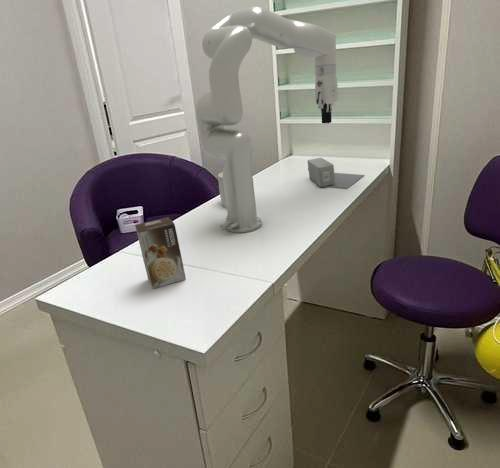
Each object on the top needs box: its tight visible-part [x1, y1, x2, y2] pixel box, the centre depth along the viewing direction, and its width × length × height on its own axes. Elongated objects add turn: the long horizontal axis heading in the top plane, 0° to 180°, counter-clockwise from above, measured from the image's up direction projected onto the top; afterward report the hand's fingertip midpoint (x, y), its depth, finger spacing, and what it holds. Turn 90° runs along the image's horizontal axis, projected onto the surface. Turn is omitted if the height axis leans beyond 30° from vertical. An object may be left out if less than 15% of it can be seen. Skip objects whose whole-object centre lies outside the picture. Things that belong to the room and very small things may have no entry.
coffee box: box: [134, 216, 187, 289], centre depth 109 cm, size 9×6×16 cm
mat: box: [316, 172, 365, 190], centre depth 175 cm, size 18×13×1 cm
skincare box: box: [307, 157, 335, 188], centre depth 174 cm, size 8×7×16 cm
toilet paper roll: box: [217, 171, 227, 208], centre depth 161 cm, size 12×12×12 cm
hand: (326, 122), depth 159 cm, fingers closed
